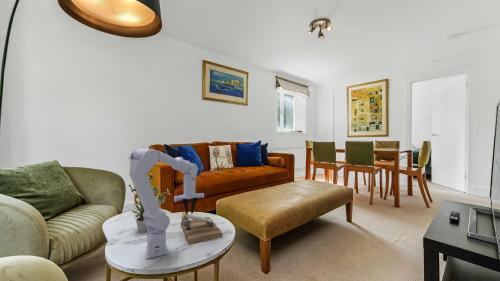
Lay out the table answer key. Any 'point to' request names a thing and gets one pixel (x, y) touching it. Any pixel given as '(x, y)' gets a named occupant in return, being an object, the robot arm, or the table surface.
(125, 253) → the table surface
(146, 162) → the robot arm
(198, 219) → the clamp bar
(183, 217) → the brass catch
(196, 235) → the walnut board
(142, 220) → the house plant
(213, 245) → the table surface
